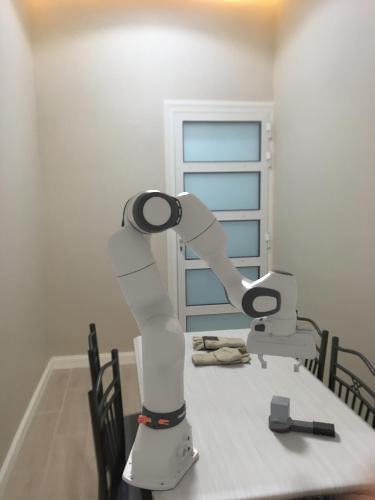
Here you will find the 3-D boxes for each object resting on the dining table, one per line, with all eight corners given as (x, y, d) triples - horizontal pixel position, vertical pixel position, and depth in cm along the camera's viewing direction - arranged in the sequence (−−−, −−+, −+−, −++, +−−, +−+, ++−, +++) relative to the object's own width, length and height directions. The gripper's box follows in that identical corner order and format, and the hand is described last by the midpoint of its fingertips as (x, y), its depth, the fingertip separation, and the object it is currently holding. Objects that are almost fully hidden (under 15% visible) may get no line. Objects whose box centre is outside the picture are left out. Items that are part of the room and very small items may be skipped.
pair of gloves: (191, 342, 199) (191, 332, 198) (243, 341, 198) (243, 331, 198) (191, 367, 169) (191, 355, 168) (252, 366, 169) (252, 354, 168)
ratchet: (335, 440, 115) (335, 422, 114) (267, 431, 120) (267, 413, 120) (333, 427, 122) (333, 409, 121) (269, 419, 127) (269, 402, 126)
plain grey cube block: (287, 424, 119) (287, 405, 119) (270, 421, 121) (270, 402, 120) (289, 416, 124) (289, 397, 123) (273, 413, 126) (273, 395, 125)
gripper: (317, 324, 119) (316, 369, 121) (248, 319, 125) (247, 362, 126) (318, 330, 113) (316, 378, 115) (245, 325, 119) (244, 370, 120)
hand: (280, 369), depth 121 cm, fingers open, 8 cm apart
